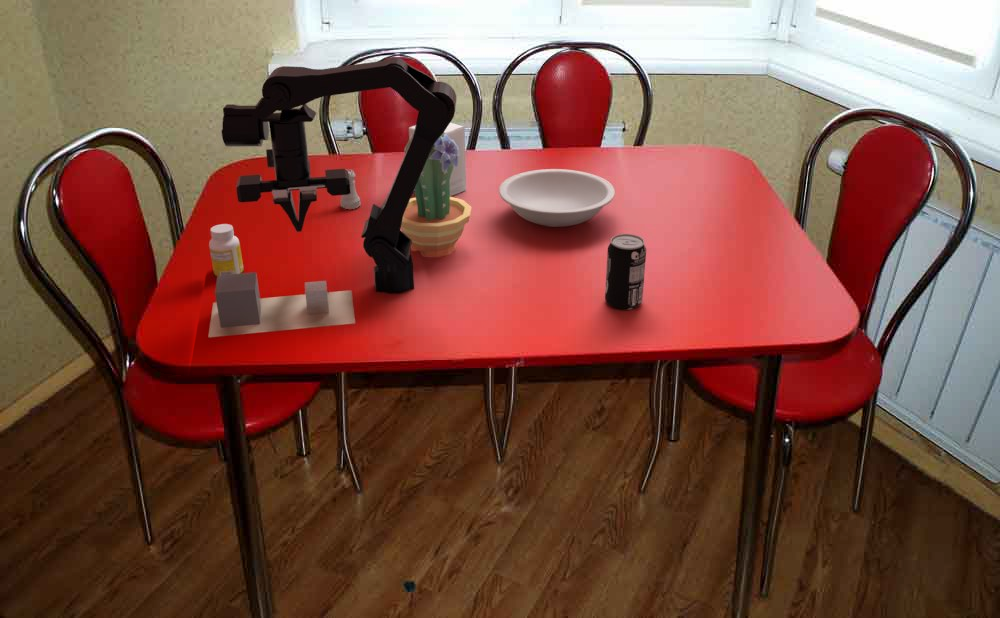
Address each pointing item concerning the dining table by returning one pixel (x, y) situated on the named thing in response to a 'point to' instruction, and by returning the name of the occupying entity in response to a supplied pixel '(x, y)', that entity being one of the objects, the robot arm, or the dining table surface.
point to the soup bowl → (556, 196)
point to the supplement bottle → (225, 251)
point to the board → (290, 315)
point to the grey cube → (316, 297)
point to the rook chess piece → (351, 194)
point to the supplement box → (458, 172)
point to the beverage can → (625, 271)
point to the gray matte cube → (238, 299)
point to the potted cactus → (436, 204)
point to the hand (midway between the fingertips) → (299, 230)
